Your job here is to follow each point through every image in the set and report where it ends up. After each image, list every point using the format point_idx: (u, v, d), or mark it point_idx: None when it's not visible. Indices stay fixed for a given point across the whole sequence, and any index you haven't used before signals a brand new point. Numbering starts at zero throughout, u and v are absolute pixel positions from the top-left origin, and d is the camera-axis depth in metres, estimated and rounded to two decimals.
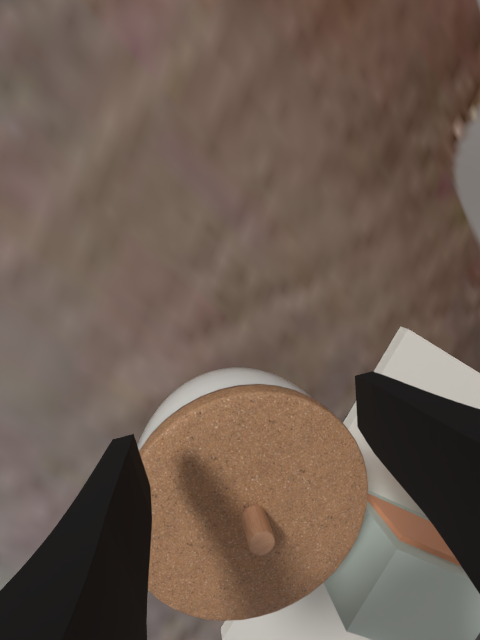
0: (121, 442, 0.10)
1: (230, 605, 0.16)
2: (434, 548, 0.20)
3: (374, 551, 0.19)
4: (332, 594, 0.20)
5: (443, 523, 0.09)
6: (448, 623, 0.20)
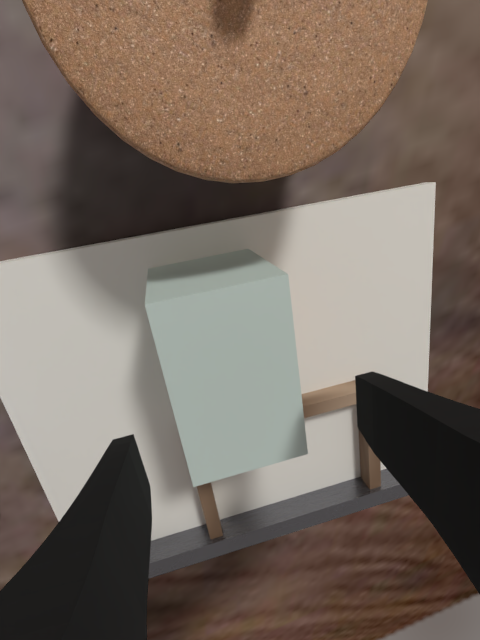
0: (121, 442, 0.10)
1: (81, 22, 0.09)
2: None
3: (251, 274, 0.14)
4: (152, 289, 0.14)
5: (443, 523, 0.09)
6: (237, 424, 0.14)
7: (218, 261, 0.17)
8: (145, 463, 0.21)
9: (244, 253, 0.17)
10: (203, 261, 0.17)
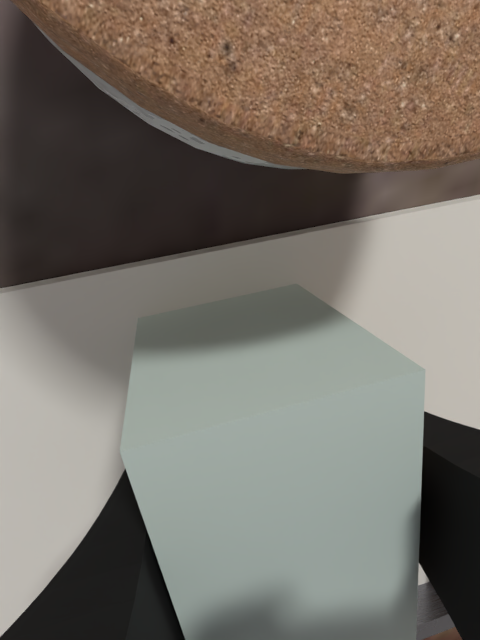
0: None
1: None
2: None
3: (336, 359, 0.07)
4: (141, 384, 0.07)
5: None
6: (301, 631, 0.08)
7: (255, 311, 0.10)
8: None
9: (295, 294, 0.11)
10: (228, 309, 0.10)
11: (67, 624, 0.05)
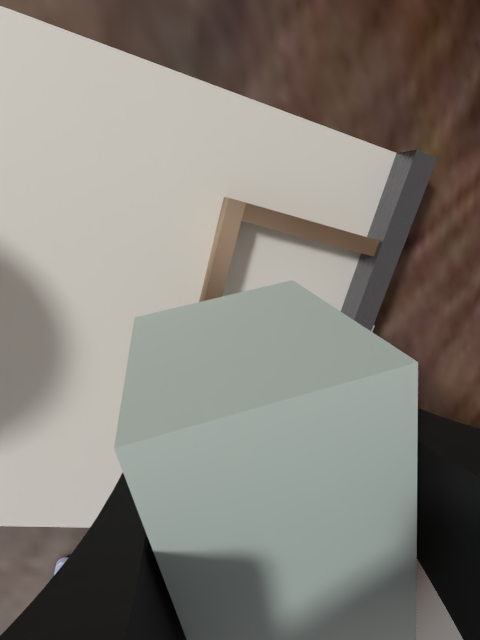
0: None
1: None
2: None
3: (330, 353, 0.07)
4: (137, 382, 0.07)
5: None
6: (300, 624, 0.08)
7: (251, 308, 0.10)
8: None
9: (290, 291, 0.11)
10: (224, 306, 0.10)
11: (66, 624, 0.05)
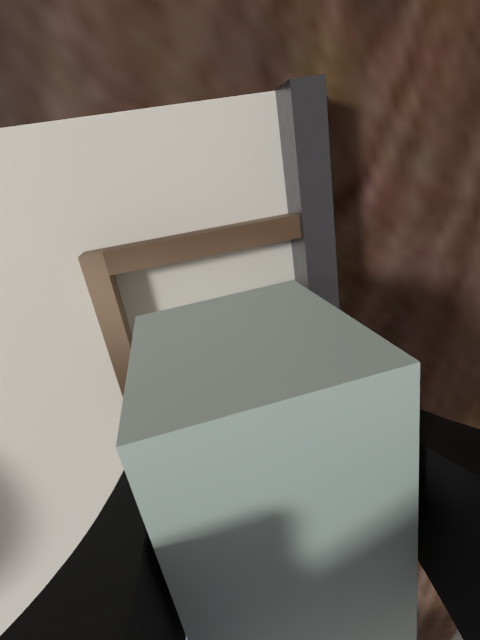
0: None
1: None
2: None
3: (332, 353, 0.07)
4: (138, 381, 0.07)
5: None
6: (302, 624, 0.08)
7: (252, 308, 0.10)
8: None
9: (291, 290, 0.11)
10: (225, 306, 0.10)
11: (66, 624, 0.05)
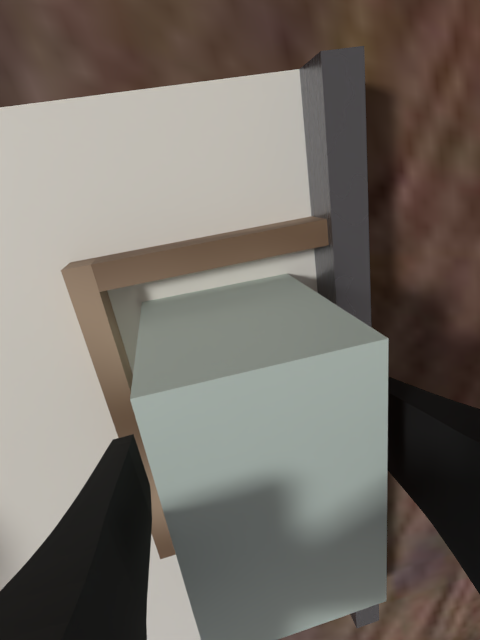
0: (121, 442, 0.10)
1: None
2: None
3: (315, 331, 0.08)
4: (147, 352, 0.08)
5: (443, 523, 0.09)
6: (283, 572, 0.09)
7: (248, 296, 0.11)
8: None
9: (284, 282, 0.12)
10: (224, 294, 0.11)
11: None
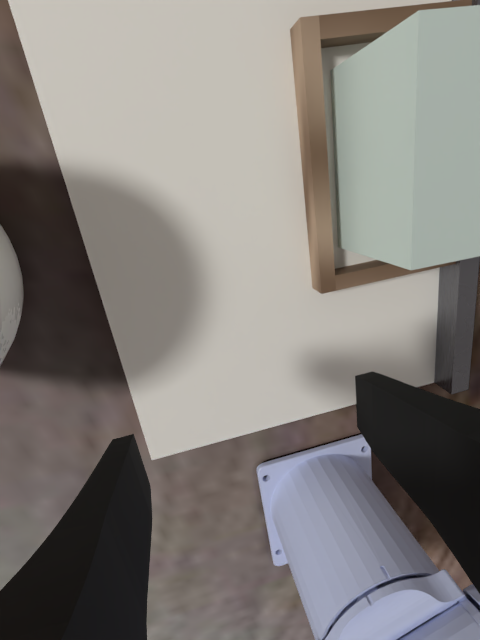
0: (121, 442, 0.10)
1: None
2: None
3: None
4: (389, 34, 0.13)
5: (443, 523, 0.09)
6: (468, 194, 0.13)
7: None
8: (346, 323, 0.21)
9: None
10: None
11: None
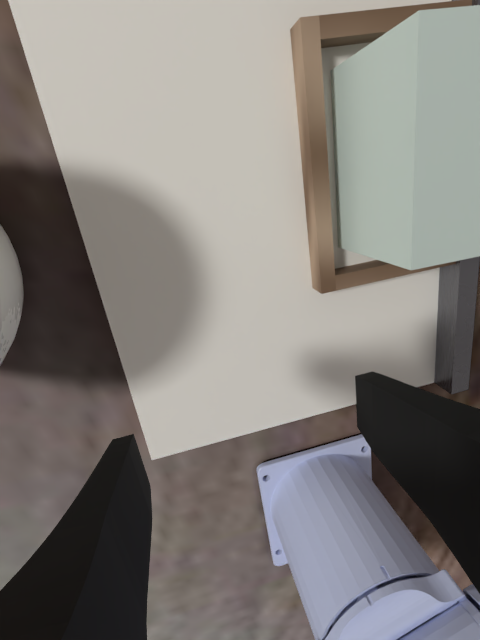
0: (121, 441, 0.10)
1: None
2: None
3: None
4: (390, 34, 0.13)
5: (443, 523, 0.09)
6: (469, 194, 0.13)
7: None
8: (346, 323, 0.21)
9: None
10: None
11: None
